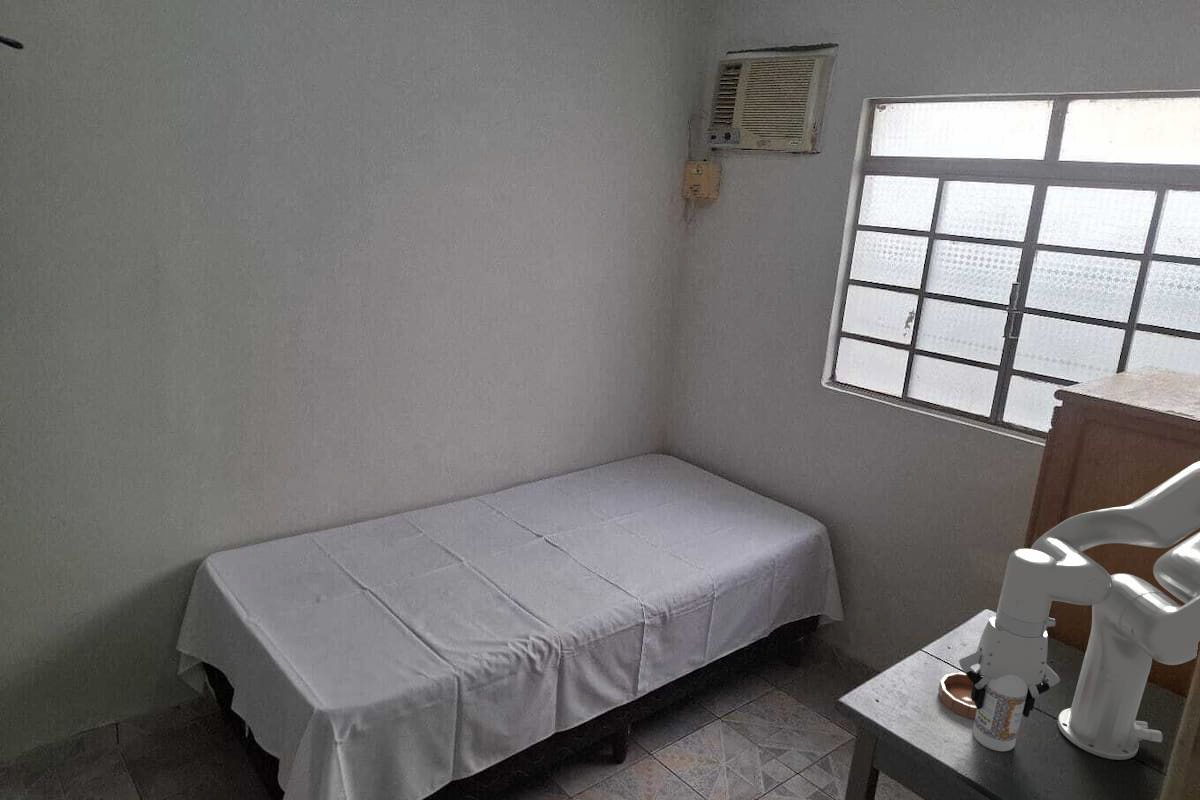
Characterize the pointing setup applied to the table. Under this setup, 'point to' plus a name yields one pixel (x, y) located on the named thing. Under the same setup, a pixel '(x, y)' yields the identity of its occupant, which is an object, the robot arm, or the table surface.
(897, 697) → the table surface
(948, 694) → the ring dish
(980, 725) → the bath foam
